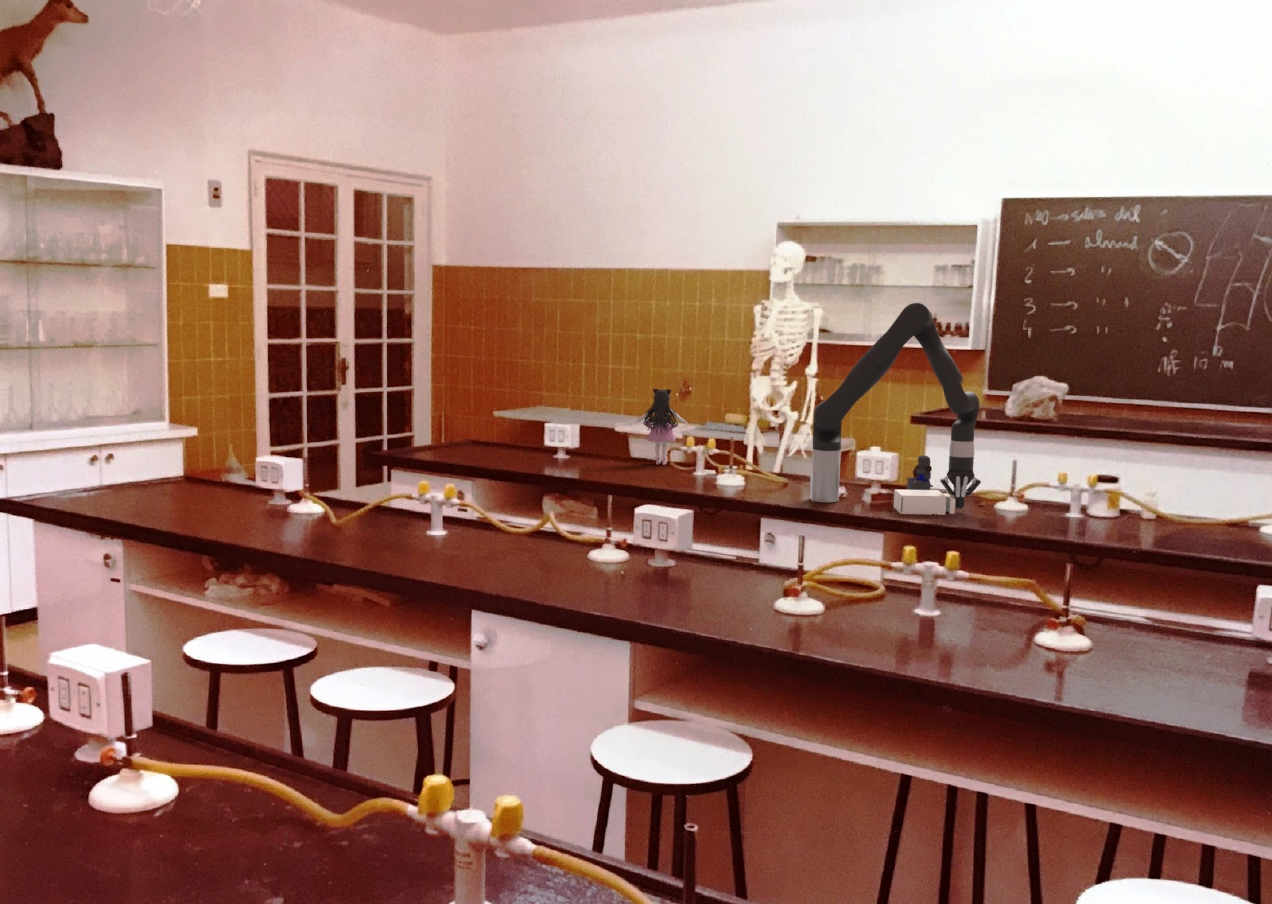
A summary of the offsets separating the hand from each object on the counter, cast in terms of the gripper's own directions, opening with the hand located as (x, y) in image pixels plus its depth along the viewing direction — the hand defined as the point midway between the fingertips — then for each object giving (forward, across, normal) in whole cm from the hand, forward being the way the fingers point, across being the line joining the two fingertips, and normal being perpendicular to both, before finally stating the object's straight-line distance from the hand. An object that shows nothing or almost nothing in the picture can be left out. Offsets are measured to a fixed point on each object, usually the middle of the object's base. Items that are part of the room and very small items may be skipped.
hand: (958, 508), depth 364 cm
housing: (+1, +13, 0) cm, 13 cm away
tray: (+1, +11, 0) cm, 11 cm away
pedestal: (+1, 0, -9) cm, 9 cm away
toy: (+1, +9, -21) cm, 23 cm away
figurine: (0, +96, -88) cm, 130 cm away
